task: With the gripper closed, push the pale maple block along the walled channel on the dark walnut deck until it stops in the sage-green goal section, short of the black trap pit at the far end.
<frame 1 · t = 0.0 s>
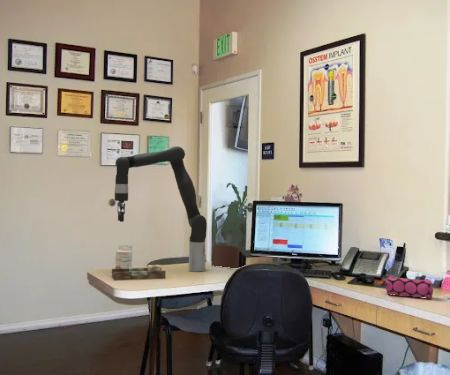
hand: (120, 221, 276), 29 cm above the table, fingers open, 8 cm apart
tunnel deck: (138, 277, 265), on the table
letter holder: (228, 267, 309), on the table
pencil case: (408, 297, 234), on the table
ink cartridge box: (123, 271, 283), on the table
maple block: (154, 273, 268), point 2 cm above the table, touching tunnel deck
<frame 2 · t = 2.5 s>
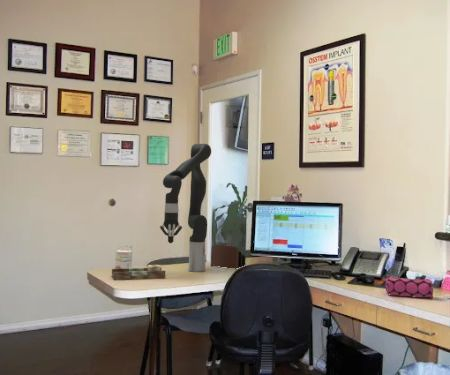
hand: (170, 243, 271), 18 cm above the table, fingers closed
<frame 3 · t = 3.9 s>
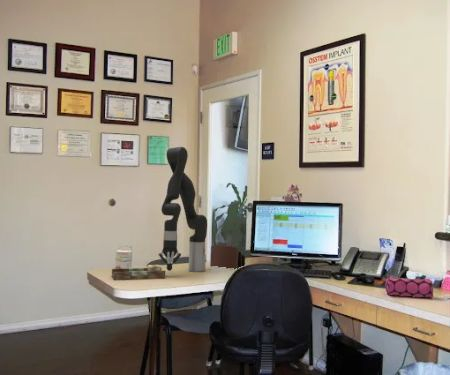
hand: (169, 270, 271), 3 cm above the table, fingers closed
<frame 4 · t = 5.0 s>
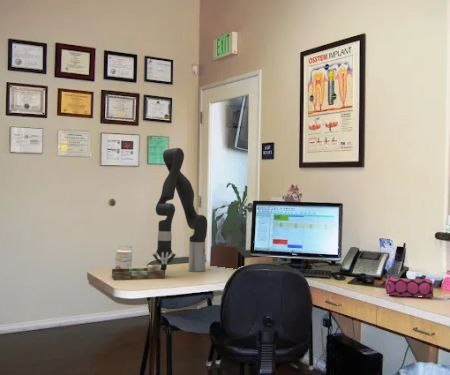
hand: (163, 270, 269), 3 cm above the table, fingers closed
maple block: (154, 273, 268), point 2 cm above the table, touching gripper, tunnel deck
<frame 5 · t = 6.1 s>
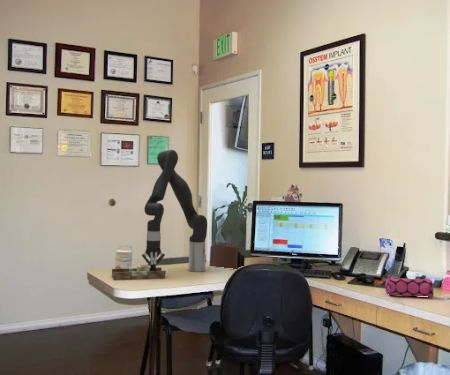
hand: (152, 271, 268), 3 cm above the table, fingers closed
maple block: (143, 273, 266), point 2 cm above the table, touching gripper, tunnel deck
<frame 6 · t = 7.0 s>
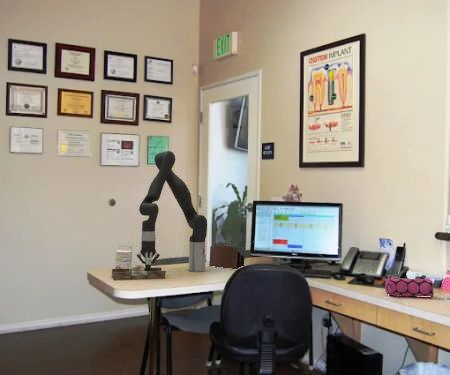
hand: (147, 271, 267), 3 cm above the table, fingers closed
maple block: (137, 273, 266), point 2 cm above the table, touching gripper, tunnel deck
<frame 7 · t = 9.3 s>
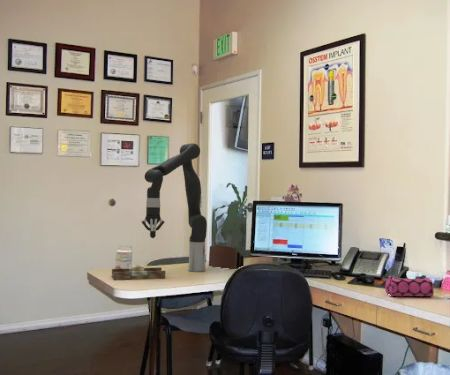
hand: (152, 237, 268), 21 cm above the table, fingers closed
maple block: (137, 273, 266), point 2 cm above the table, touching tunnel deck
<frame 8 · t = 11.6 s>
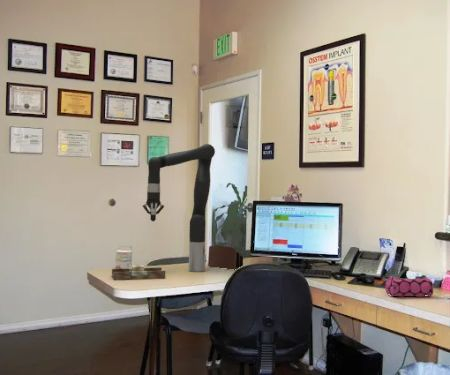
hand: (152, 221, 286), 29 cm above the table, fingers closed
at the end: maple block inside the target area (0.7 cm from its centre), point 2.0 cm above the table; maple block tilted 0° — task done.
